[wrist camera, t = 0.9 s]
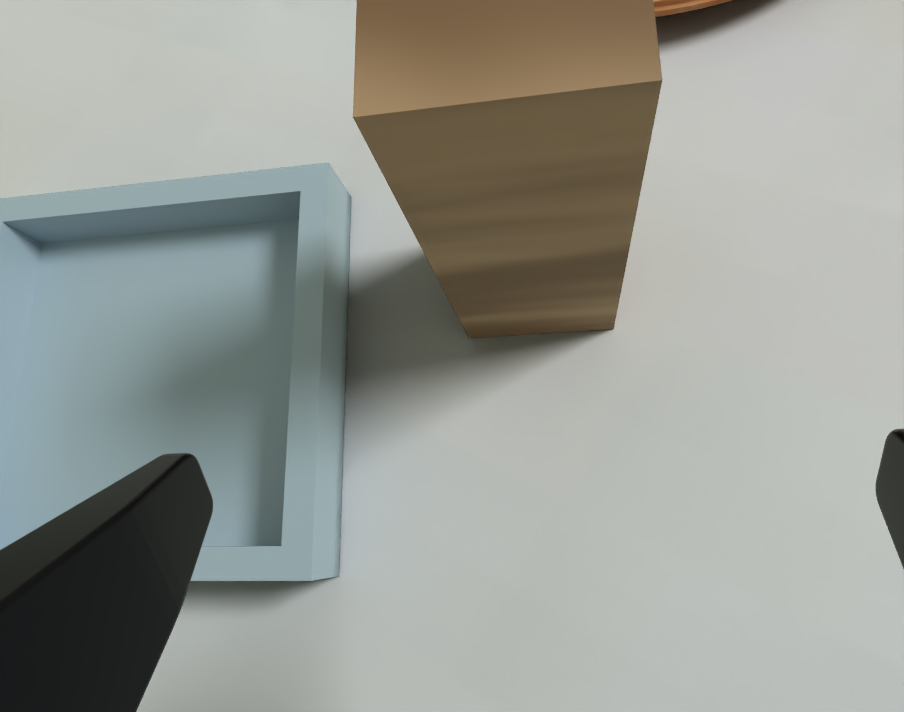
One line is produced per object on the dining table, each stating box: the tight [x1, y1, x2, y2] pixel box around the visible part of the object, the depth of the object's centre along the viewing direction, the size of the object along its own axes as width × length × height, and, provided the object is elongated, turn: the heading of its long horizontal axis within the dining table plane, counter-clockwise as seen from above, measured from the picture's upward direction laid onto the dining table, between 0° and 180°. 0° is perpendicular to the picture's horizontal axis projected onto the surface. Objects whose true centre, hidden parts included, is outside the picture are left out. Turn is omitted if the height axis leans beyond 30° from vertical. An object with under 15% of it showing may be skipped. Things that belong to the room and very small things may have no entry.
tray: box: [0, 163, 351, 581], centre depth 24 cm, size 14×14×2 cm
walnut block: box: [353, 0, 662, 338], centre depth 17 cm, size 4×5×13 cm
